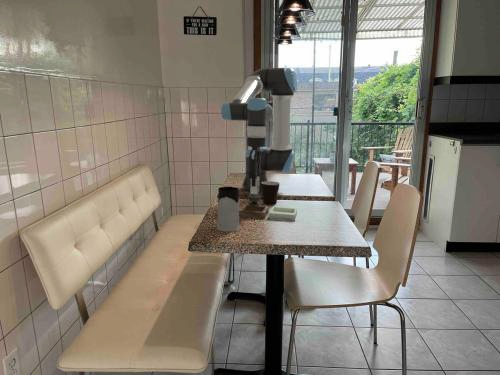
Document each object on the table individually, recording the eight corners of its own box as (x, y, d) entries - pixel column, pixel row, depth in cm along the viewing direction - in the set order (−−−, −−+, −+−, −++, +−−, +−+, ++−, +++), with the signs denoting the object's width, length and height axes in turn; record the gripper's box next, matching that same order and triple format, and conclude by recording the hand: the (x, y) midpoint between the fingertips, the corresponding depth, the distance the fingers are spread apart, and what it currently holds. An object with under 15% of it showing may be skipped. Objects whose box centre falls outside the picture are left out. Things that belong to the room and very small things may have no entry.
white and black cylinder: (214, 230, 138) (214, 190, 135) (222, 219, 152) (222, 183, 149) (237, 232, 137) (238, 191, 134) (243, 221, 151) (244, 184, 148)
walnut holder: (244, 209, 167) (244, 204, 167) (268, 211, 165) (268, 206, 165) (238, 216, 157) (238, 210, 156) (264, 218, 155) (264, 212, 154)
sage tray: (272, 212, 165) (272, 206, 164) (296, 214, 163) (297, 208, 162) (268, 218, 155) (269, 212, 154) (294, 220, 153) (295, 215, 152)
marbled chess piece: (244, 204, 160) (245, 176, 158) (254, 201, 164) (255, 174, 162) (254, 206, 156) (255, 178, 154) (264, 204, 160) (265, 176, 158)
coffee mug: (272, 206, 174) (272, 185, 172) (257, 203, 179) (257, 182, 177) (285, 202, 183) (286, 182, 181) (270, 199, 188) (271, 179, 186)
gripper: (251, 135, 163) (249, 188, 168) (242, 137, 147) (241, 196, 152) (268, 135, 162) (266, 189, 167) (261, 138, 146) (260, 197, 151)
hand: (254, 192), depth 159 cm, fingers closed on marbled chess piece, 4 cm apart
